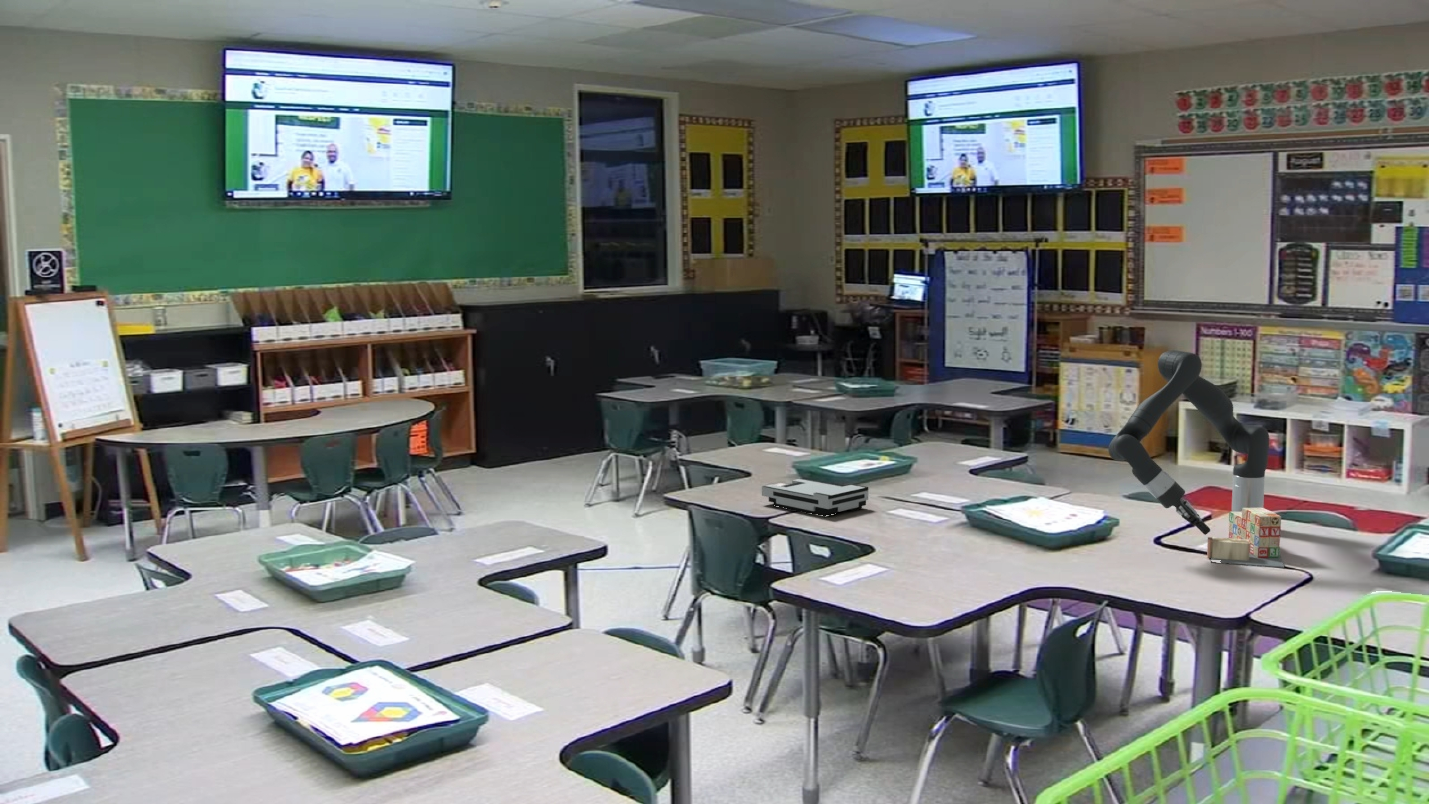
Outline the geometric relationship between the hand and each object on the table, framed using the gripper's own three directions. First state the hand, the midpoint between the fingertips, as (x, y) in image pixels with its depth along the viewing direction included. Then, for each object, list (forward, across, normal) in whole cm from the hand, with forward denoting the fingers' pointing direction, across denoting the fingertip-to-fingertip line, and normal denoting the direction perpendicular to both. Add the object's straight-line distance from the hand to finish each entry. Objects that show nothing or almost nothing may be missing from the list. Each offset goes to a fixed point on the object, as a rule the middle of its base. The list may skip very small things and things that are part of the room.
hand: (1207, 532), depth 350 cm
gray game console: (-85, +34, +96) cm, 133 cm away
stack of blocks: (+14, +12, -4) cm, 20 cm away
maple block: (+3, 0, +3) cm, 4 cm away
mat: (+13, 0, -2) cm, 13 cm away
